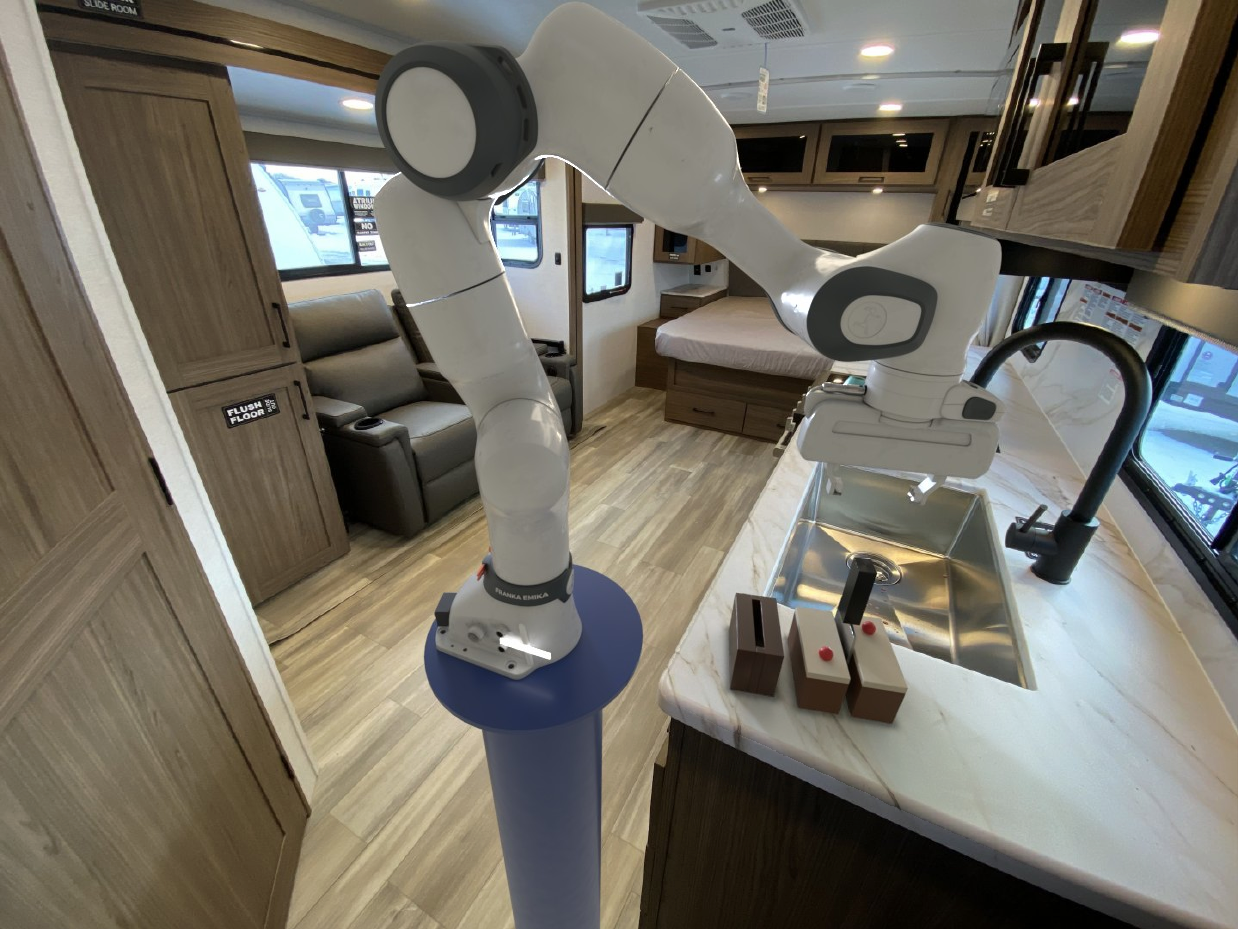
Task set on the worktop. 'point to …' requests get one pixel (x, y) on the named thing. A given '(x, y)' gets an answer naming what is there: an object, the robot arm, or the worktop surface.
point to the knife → (854, 602)
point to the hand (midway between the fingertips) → (873, 497)
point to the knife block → (755, 645)
